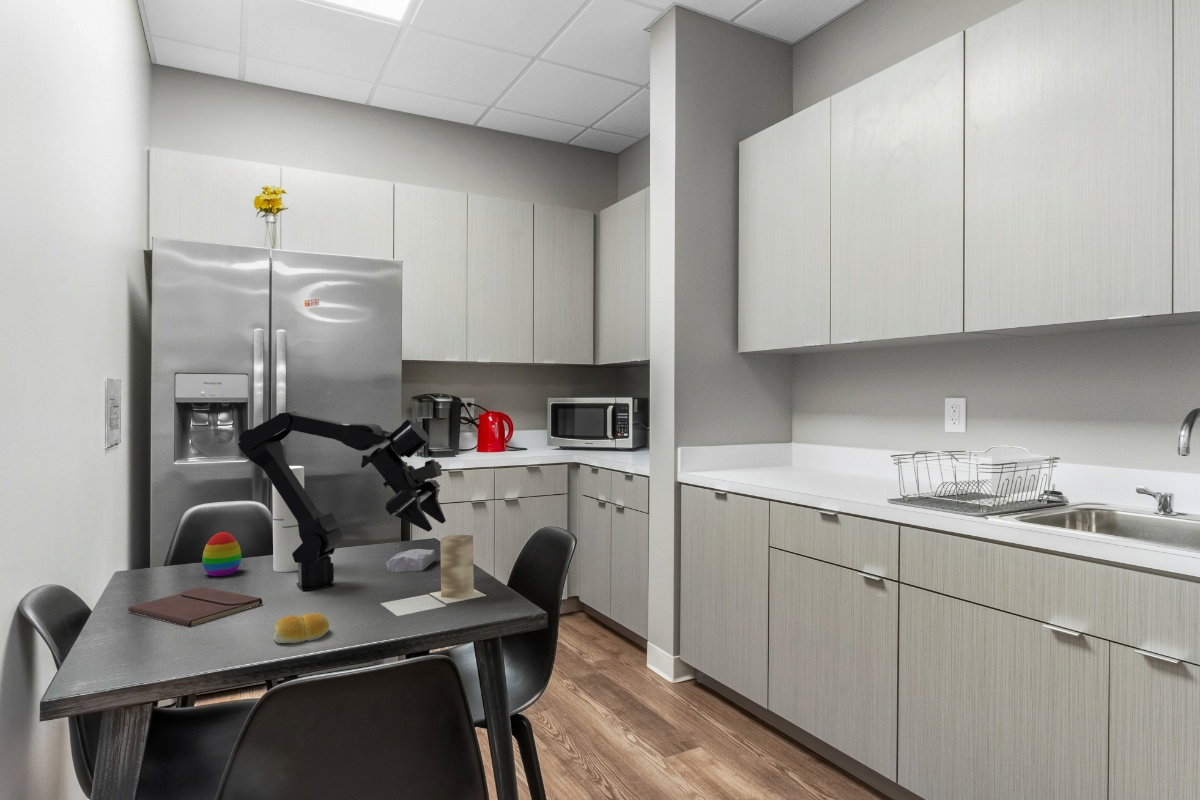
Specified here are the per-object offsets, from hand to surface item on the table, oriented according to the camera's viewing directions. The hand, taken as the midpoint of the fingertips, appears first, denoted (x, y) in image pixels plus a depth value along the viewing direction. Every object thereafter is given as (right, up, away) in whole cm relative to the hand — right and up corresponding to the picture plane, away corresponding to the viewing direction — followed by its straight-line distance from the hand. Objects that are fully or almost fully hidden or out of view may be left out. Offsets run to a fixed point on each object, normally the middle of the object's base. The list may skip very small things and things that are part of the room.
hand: (437, 526), depth 147 cm
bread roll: (-17, -14, -29) cm, 37 cm away
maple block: (+6, -13, -6) cm, 16 cm away
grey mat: (-2, -14, -13) cm, 19 cm away
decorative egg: (-55, -14, +14) cm, 59 cm away
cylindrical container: (-41, -14, +19) cm, 47 cm away
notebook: (-45, -15, -13) cm, 49 cm away
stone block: (-12, -14, +19) cm, 26 cm away
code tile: (+6, -13, -6) cm, 16 cm away
